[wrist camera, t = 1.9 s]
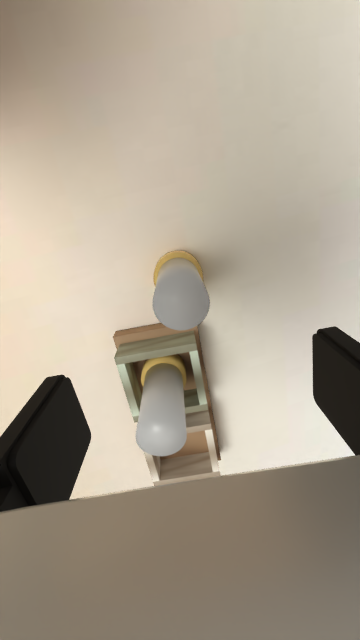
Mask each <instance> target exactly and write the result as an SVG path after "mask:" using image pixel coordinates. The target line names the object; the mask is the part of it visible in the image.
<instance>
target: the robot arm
mask: <svg viewBox="0 0 360 640" xmlns="http://www.w3.org/2000/svg"><path fill="white" fill-rule="evenodd" d="M313 396H314V399H315V402H316V404H317V405H318V406H319V408H320V409H321V410H322V412H323V413H324V414H325V416H326V417H327V418H328V420H329V421H330V422H331V423H332V425H333V426H334V427H335V429H336V430H337V431H338V433H339V434H340V435H341V437H342V438H343V439H344V441H345V442H346V443H347V445H348V446H349V447H350V449H351V450H352V451H353V453H354V454H355V455H356V456H349V457H342V458H335V459H328V460H322V461H315V462H308V463H301V464H295V465H288V466H281V467H275V468H268V469H261V470H255V471H248V472H242V473H235V474H229V475H222V476H216V477H209V478H203V479H196V480H190V481H184V482H177V483H171V484H164V485H158V486H152V487H145V488H139V489H133V490H127V491H121V492H114V493H108V494H102V495H96V496H90V497H84V498H77V499H71V500H69V498H70V496H71V493H72V490H73V487H74V485H75V482H76V479H77V476H78V474H79V471H80V468H81V465H82V463H83V460H84V457H85V454H86V452H87V449H88V446H89V444H90V440H91V432H90V429H89V426H88V424H87V421H86V419H85V416H84V413H83V411H82V408H81V406H80V403H79V401H78V398H77V395H76V393H75V390H74V388H73V385H72V383H71V380H70V379H69V378H68V377H67V378H66V377H65V376H64V375H57V376H52V377H47V378H46V379H45V380H44V381H43V383H42V384H41V385H40V386H39V388H38V389H37V390H36V392H35V393H34V394H33V396H32V397H31V398H30V399H29V401H28V402H27V403H26V405H25V406H24V407H23V408H22V410H21V411H20V412H19V414H18V415H17V416H16V417H15V419H14V420H13V421H12V423H11V424H10V425H9V426H8V428H7V429H6V430H5V432H4V433H3V434H2V436H1V437H0V640H360V343H359V342H357V341H356V340H354V339H353V338H352V337H350V336H349V335H347V334H346V333H344V332H343V331H341V330H340V329H339V328H337V327H329V328H323V329H319V330H318V331H317V334H314V335H313Z"/></svg>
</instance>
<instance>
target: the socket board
mask: <svg viewBox="0 0 360 640" xmlns="http://www.w3.org/2000/svg"><path fill="white" fill-rule="evenodd" d="M113 338H114V341H115V345H116V348H117V352H116V355H115V357H114V359H115V362H116V365H117V368H118V371H119V375H120V378H121V381H122V384H123V387H124V391H125V394H126V397H127V400H128V403H129V406H130V410H131V413H132V416H133V419H134V422H138V418H139V411H140V405H141V399H142V392H143V386H142V383H141V374H142V369H143V364H144V362H145V360H147V359H152V358H158V357H163V356H169V355H174V354H177V355H179V356H180V357H181V358H182V360H183V361H184V363H185V368H186V384H185V387H184V388H183V390H184V405H185V419H186V433H187V439H186V442H185V444H184V446H183V447H182V448H181V449H180V450H179V451H178V452H176V453H174V454H172V455H168V456H154V455H151V454H148V453H146V452H145V451H144V454H145V458H146V461H147V464H148V467H149V470H150V474H151V477H152V480H153V483H154V486H158V485H164V484H171V483H177V482H184V481H190V480H196V479H203V478H209V477H216V476H220V470H219V465H218V460H221V457H220V452H219V446H218V440H217V435H216V429H215V424H214V418H213V412H212V407H211V401H210V395H209V390H208V384H207V379H206V373H205V367H204V362H203V356H202V350H201V345H200V339H199V333H198V328H197V326H195V327H194V328H191V329H188V330H174V329H171V328H168V327H166V326H165V325H163V324H162V323H158V324H153V325H148V326H142V327H137V328H131V329H126V330H121V331H116V332H115V334H114V336H113Z"/></svg>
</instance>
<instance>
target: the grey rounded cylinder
mask: <svg viewBox="0 0 360 640" xmlns="http://www.w3.org/2000/svg"><path fill="white" fill-rule="evenodd" d="M154 284H155V292H154V297H153V310H154V313H155V315H156V317H157V319H158V320H159V321H160V322H161V323H162V324H163V325H165V326H166V327H168V328H171V329H174V330H188V329H191V328H194V327H195V326H197V325H199V324H200V323H201V322H202V321H203V320H204V319H205V317H206V315H207V313H208V311H209V306H210V300H209V295H208V292H207V290H206V288H205V286H204V284H203V273H202V269H201V267H200V265H199V263H198V261H197V260H196V259H195V258H194V257H193V256H192V255H191V254H189V253H187V252H184V251H171V252H169V253H167V254H165V255H164V256H162V257H161V258H160V260H159V261H158V263H157V265H156V268H155V271H154Z"/></svg>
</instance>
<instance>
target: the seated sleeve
mask: <svg viewBox="0 0 360 640" xmlns="http://www.w3.org/2000/svg"><path fill="white" fill-rule="evenodd" d="M141 383H142V386H143V392H142V399H141V405H140V411H139V418H138V424H137V431H136V441H137V444H138V446H139V447H140V448H141V449H142V450H143V451H145V452H146V453H148V454H151V455H154V456H168V455H172V454H174V453H176V452H178V451H179V450H180V449H181V448H182V447H183V446H184V444H185V442H186V439H187V433H186V419H185V405H184V390H183V388H184V387H185V384H186V368H185V363H184V361H183V360H182V358H181V357H180V356H179V355H177V354H174V355H169V356H163V357H158V358H152V359H147V360H145V362H144V364H143V369H142V374H141Z"/></svg>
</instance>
